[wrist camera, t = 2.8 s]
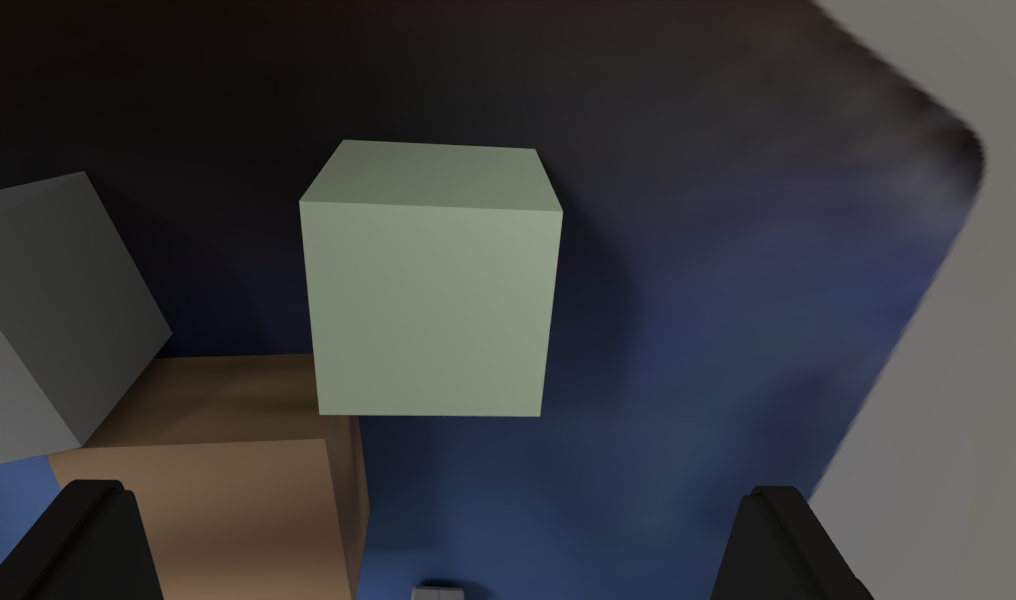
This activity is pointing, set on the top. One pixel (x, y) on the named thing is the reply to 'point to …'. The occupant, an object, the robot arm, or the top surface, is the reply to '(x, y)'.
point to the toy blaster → (436, 593)
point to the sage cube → (430, 279)
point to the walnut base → (236, 478)
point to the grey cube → (66, 317)
